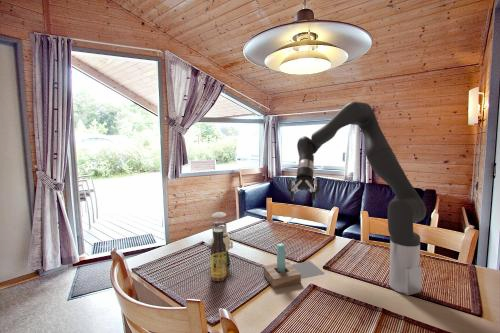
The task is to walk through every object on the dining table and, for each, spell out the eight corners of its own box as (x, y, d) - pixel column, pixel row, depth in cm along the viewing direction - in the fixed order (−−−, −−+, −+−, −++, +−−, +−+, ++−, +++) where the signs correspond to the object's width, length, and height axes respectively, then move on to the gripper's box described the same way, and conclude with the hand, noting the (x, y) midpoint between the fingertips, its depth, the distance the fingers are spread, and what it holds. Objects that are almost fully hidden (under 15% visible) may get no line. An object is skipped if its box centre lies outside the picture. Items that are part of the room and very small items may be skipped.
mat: (325, 274, 110) (325, 273, 110) (298, 279, 106) (298, 279, 106) (310, 261, 121) (310, 261, 121) (285, 266, 118) (285, 265, 118)
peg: (286, 280, 106) (286, 246, 105) (279, 282, 105) (278, 247, 104) (283, 276, 109) (282, 243, 108) (276, 278, 108) (275, 244, 107)
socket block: (300, 283, 103) (300, 273, 103) (274, 289, 100) (273, 279, 100) (288, 270, 114) (288, 261, 113) (263, 275, 111) (263, 265, 110)
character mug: (208, 265, 121) (206, 236, 120) (217, 258, 127) (216, 231, 126) (229, 269, 116) (228, 240, 115) (237, 262, 123) (236, 234, 121)
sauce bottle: (213, 284, 105) (211, 234, 103) (209, 276, 111) (206, 229, 109) (229, 280, 108) (227, 231, 106) (224, 273, 113) (222, 226, 111)
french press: (221, 243, 145) (219, 197, 143) (205, 239, 152) (202, 195, 149) (232, 237, 153) (230, 194, 151) (216, 234, 160) (214, 192, 157)
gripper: (289, 166, 127) (284, 195, 117) (320, 165, 123) (318, 196, 113) (291, 175, 133) (287, 204, 123) (321, 176, 128) (320, 205, 118)
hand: (302, 200), depth 118 cm, fingers open, 8 cm apart
